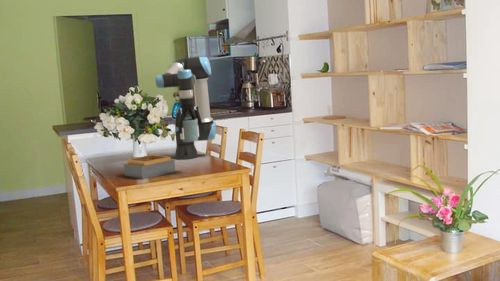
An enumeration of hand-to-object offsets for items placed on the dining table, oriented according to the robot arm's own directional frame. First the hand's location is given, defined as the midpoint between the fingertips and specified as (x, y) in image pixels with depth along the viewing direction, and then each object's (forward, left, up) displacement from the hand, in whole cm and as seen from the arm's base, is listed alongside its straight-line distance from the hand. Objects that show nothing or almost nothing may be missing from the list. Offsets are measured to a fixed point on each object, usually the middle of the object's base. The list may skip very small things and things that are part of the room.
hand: (189, 137), depth 317 cm
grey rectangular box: (+13, -20, -20) cm, 31 cm away
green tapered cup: (0, 0, -2) cm, 2 cm away
